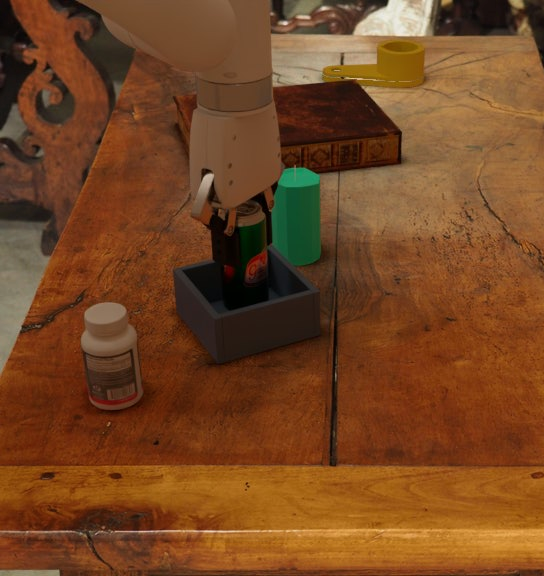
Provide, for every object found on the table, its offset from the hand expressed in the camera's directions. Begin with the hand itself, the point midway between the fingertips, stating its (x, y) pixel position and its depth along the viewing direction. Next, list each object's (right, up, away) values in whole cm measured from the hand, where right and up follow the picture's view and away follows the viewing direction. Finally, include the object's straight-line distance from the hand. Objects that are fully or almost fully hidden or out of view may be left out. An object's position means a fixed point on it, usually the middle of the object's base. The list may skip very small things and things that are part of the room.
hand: (243, 251), depth 115 cm
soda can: (0, -6, +4) cm, 7 cm away
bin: (0, -8, +5) cm, 9 cm away
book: (0, +18, +50) cm, 53 cm away
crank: (+13, +33, +77) cm, 84 cm away
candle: (+4, 0, +19) cm, 19 cm away
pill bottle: (-12, -15, -8) cm, 20 cm away
